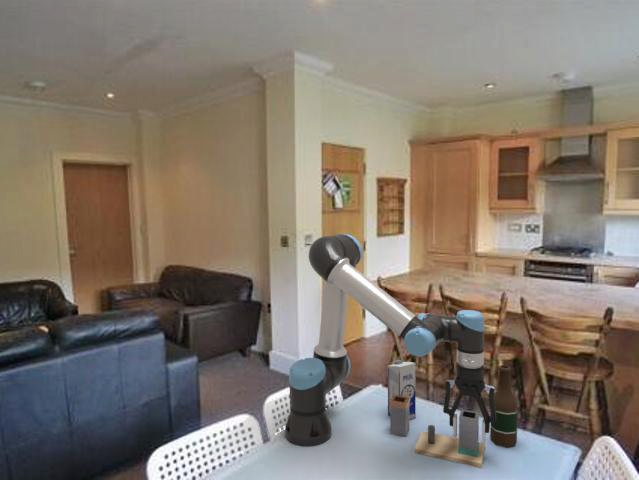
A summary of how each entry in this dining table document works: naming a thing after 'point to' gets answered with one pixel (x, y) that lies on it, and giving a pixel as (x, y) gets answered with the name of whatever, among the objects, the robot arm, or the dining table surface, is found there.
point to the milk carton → (402, 383)
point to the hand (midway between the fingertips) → (469, 439)
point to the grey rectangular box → (468, 433)
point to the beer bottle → (504, 411)
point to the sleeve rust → (399, 415)
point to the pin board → (445, 448)
